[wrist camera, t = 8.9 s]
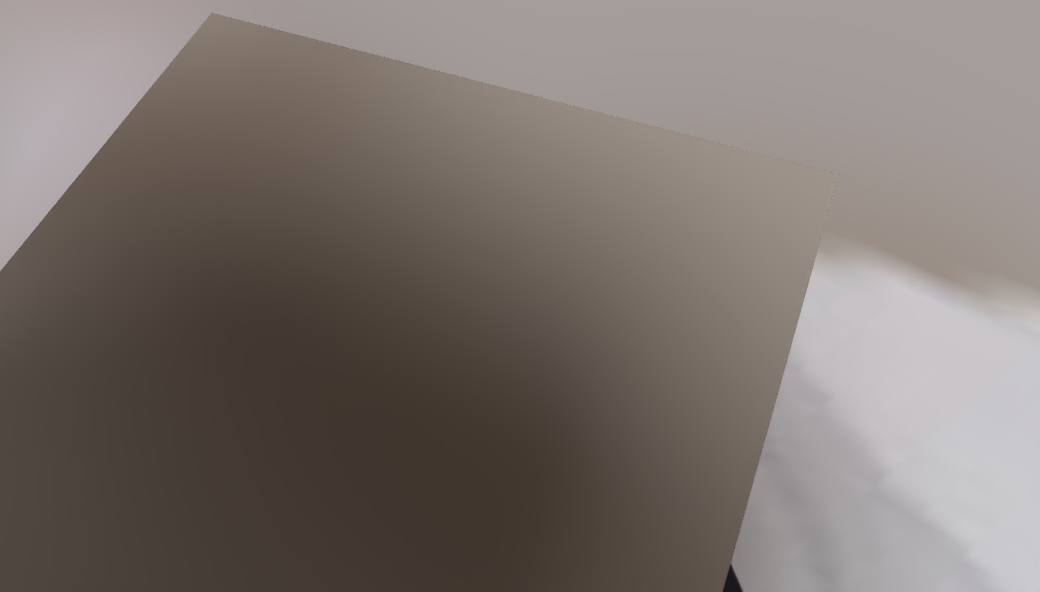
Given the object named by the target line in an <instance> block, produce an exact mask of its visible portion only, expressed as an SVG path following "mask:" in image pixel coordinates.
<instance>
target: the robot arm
mask: <svg viewBox="0 0 1040 592" xmlns="http://www.w3.org/2000/svg"><path fill="white" fill-rule="evenodd" d="M723 592H743V590H742V588H741V585H740V583H739V581H738V578H737V576H736V574H735V571H734V569H733V567H732V564H731V563H730V567H729V570H728V574H727V577H726V581H725V585H724V588H723Z"/></svg>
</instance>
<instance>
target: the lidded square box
mask: <svg viewBox="0 0 1040 592" xmlns="http://www.w3.org/2000/svg"><path fill="white" fill-rule="evenodd" d="M838 175H839V174H837V173H833V172H829V171H825V170H821V169H818V168H814V167H810V166H806V165H802V164H798V163H794V162H790V161H786V160H783V159H779V158H775V157H771V156H767V155H763V154H759V153H755V152H751V151H748V150H743V149H740V148H736V147H732V146H728V145H724V144H720V143H716V142H713V141H709V140H705V139H701V138H697V137H692V136H689V135H685V134H681V133H677V132H673V131H670V130H666V129H662V128H658V127H654V126H650V125H646V124H642V123H638V122H634V121H630V120H627V119H623V118H619V117H615V116H611V115H607V114H603V113H599V112H595V111H592V110H588V109H584V108H580V107H576V106H572V105H568V104H565V103H560V102H557V101H552V100H548V99H545V98H541V97H537V96H533V95H529V94H525V93H521V92H518V91H514V90H510V89H506V88H502V87H498V86H494V85H491V84H486V83H483V82H479V81H475V80H471V79H467V78H463V77H459V76H456V75H452V74H448V73H444V72H440V71H436V70H432V69H428V68H424V67H420V66H417V65H413V64H409V63H405V62H401V61H397V60H393V59H389V58H385V57H381V56H378V55H374V54H369V53H366V52H362V51H358V50H354V49H350V48H346V47H343V46H338V45H335V44H331V43H326V42H323V41H319V40H315V39H311V38H308V37H304V36H300V35H296V34H292V33H288V32H284V31H280V30H276V29H273V28H269V27H265V26H261V25H257V24H253V23H249V22H245V21H241V20H237V19H233V18H229V17H226V16H222V15H218V14H214V13H211V14H210V16H209V17H208V18H207V19H206V21H205V22H204V23H203V24H202V25H201V27H200V28H199V29H198V30H197V32H196V33H195V34H194V36H192V38H191V39H190V40H189V41H188V43H187V44H186V45H185V46H184V48H183V49H182V50H181V51H180V53H179V54H178V55H177V56H176V57H175V59H174V60H173V61H172V62H171V63H170V65H169V66H168V67H167V68H166V70H165V71H164V72H163V73H162V74H161V76H160V77H159V78H158V79H157V81H156V82H155V83H154V84H153V85H152V87H151V88H150V89H149V90H148V92H147V93H146V94H145V95H144V96H143V98H142V99H141V100H140V101H139V103H138V104H137V105H136V106H135V107H134V109H133V110H132V111H131V112H130V114H129V115H128V116H127V117H126V118H125V120H124V121H123V122H122V123H121V125H120V126H119V127H118V128H117V129H116V131H115V132H114V133H113V134H112V136H111V137H110V138H109V139H108V140H107V142H106V143H105V144H104V145H103V147H102V148H101V149H100V150H99V151H98V153H97V154H96V155H95V156H94V158H93V159H92V160H91V161H90V162H89V164H88V165H87V166H86V168H85V169H84V170H83V171H82V172H81V174H80V175H79V176H78V177H77V178H76V180H75V181H74V182H73V183H72V185H71V186H70V187H69V188H68V189H67V191H66V192H65V193H64V194H63V195H62V197H61V198H60V199H59V200H58V202H57V203H56V204H55V205H54V207H53V208H52V209H51V210H50V211H49V213H48V214H47V215H46V216H45V217H44V219H43V220H42V221H41V222H40V224H39V225H38V226H37V227H36V229H35V230H34V231H33V232H32V233H31V235H30V236H29V237H28V238H27V240H26V241H25V242H24V243H23V244H22V246H21V247H20V248H19V249H18V251H17V252H16V253H15V254H14V255H13V257H12V258H11V259H10V260H9V262H8V263H7V264H6V265H5V267H4V268H3V269H2V270H1V271H0V592H723V588H724V585H725V581H726V577H727V574H728V570H729V567H730V563H731V559H732V556H733V552H734V549H735V545H736V542H737V538H738V534H739V531H740V527H741V524H742V520H743V516H744V513H745V509H746V506H747V502H748V498H749V495H750V491H751V488H752V484H753V481H754V477H755V473H756V470H757V466H758V463H759V459H760V455H761V452H762V448H763V445H764V441H765V437H766V434H767V430H768V427H769V423H770V419H771V416H772V412H773V409H774V405H775V402H776V398H777V394H778V391H779V387H780V384H781V380H782V376H783V373H784V369H785V366H786V362H787V358H788V355H789V351H790V348H791V344H792V340H793V337H794V333H795V330H796V326H797V323H798V319H799V315H800V312H801V308H802V305H803V301H804V297H805V294H806V290H807V287H808V283H809V279H810V276H811V272H812V269H813V265H814V262H815V258H816V254H817V251H818V247H819V244H820V240H821V236H822V233H823V229H824V226H825V222H826V218H827V215H828V211H829V208H830V204H831V200H832V197H833V193H834V190H835V186H836V183H837V178H838Z"/></svg>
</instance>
